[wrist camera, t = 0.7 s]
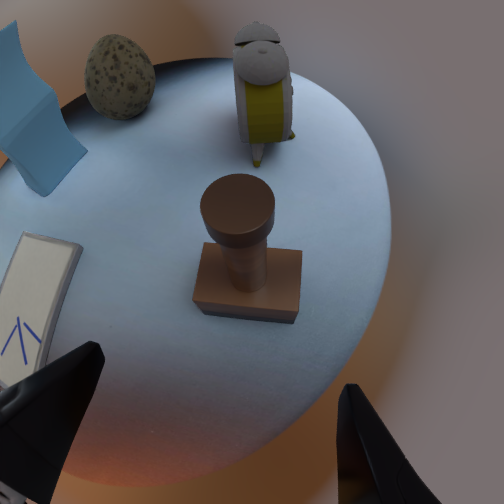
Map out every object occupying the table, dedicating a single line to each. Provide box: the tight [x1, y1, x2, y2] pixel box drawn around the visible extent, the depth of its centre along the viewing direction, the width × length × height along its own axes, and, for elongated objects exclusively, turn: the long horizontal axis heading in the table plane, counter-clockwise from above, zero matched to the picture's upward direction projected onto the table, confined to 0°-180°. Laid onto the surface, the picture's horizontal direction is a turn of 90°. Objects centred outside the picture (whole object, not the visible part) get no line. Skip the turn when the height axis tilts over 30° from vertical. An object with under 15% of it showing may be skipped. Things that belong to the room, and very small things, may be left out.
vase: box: [0, 20, 88, 197], centre depth 25 cm, size 10×10×25 cm
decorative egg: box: [84, 34, 155, 120], centre depth 33 cm, size 11×11×15 cm
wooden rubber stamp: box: [192, 174, 302, 324], centre depth 20 cm, size 5×8×14 cm, turn 83°
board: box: [0, 231, 83, 389], centre depth 25 cm, size 20×12×1 cm, turn 168°
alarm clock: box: [233, 22, 295, 167], centre depth 28 cm, size 12×7×15 cm, turn 3°
